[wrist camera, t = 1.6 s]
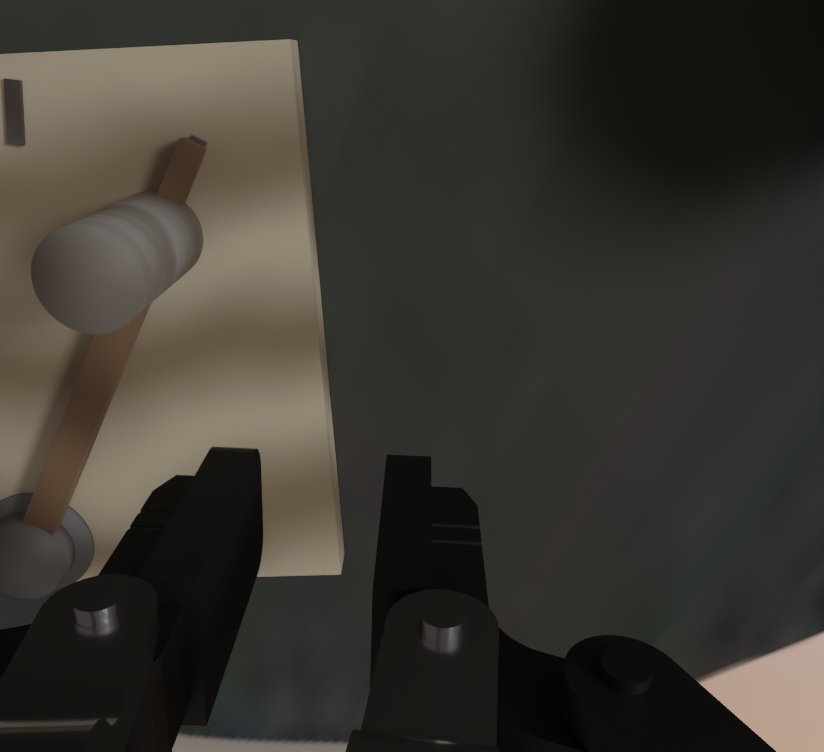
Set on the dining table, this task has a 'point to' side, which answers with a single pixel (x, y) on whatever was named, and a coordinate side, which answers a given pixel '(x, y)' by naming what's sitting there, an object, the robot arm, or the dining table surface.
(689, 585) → the dining table surface
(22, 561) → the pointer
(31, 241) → the board
